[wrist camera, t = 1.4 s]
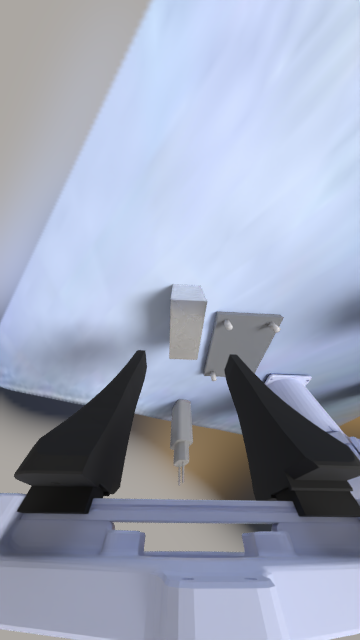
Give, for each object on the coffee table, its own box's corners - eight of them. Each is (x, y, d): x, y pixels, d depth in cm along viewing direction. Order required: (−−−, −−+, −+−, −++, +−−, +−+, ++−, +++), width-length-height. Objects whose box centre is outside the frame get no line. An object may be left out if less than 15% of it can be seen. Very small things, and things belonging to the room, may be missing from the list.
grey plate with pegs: (250, 374, 26) (255, 385, 24) (203, 372, 26) (205, 383, 24) (280, 314, 19) (291, 323, 17) (216, 311, 19) (221, 320, 17)
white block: (193, 335, 21) (197, 359, 17) (171, 334, 21) (169, 358, 17) (200, 285, 17) (207, 301, 13) (173, 283, 17) (170, 299, 13)
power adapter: (171, 410, 33) (167, 487, 23) (178, 398, 31) (177, 479, 20) (183, 412, 34) (184, 488, 24) (191, 401, 31) (196, 481, 21)
